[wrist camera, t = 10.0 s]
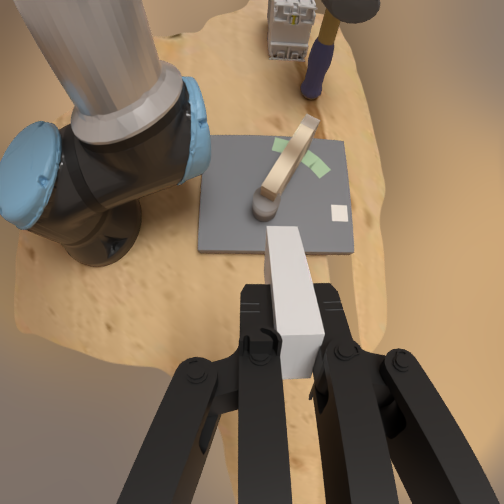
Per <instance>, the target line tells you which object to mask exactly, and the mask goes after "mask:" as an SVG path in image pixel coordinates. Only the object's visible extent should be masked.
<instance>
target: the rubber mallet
mask: <svg viewBox="0 0 504 504" xmlns="http://www.w3.org/2000/svg"><path fill="white" fill-rule="evenodd" d="M322 2H323V4H324V5H325V7H326V10H325V14H324V18H323V21H322V25H321V28H320V32H319V36H318V37H317V39H316V40H315V42H314V44H313V46H312V49H311V52H310V55H309V58H308V69H307V73H306V77H305V80H304V81H303V83H302V85H301V92H302V94H303V96H304V97H305V98H307V99H315V98H317V97H318V96H319V95H320V94H321V91H322V82H323V79H324V76H325V74H326V72H327V70H328V68H329V66H330V64H331V60H332V56H333V51H334V41H335V37H336V34H337V31H338V28H339V24H340V21H342V22H346V23H355V24H356V23H362V22H365V21H367V20H370V19H371V18H372V17H374V16H375V15H376V13H377V12H378V11H379V8H380V0H322Z"/></svg>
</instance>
